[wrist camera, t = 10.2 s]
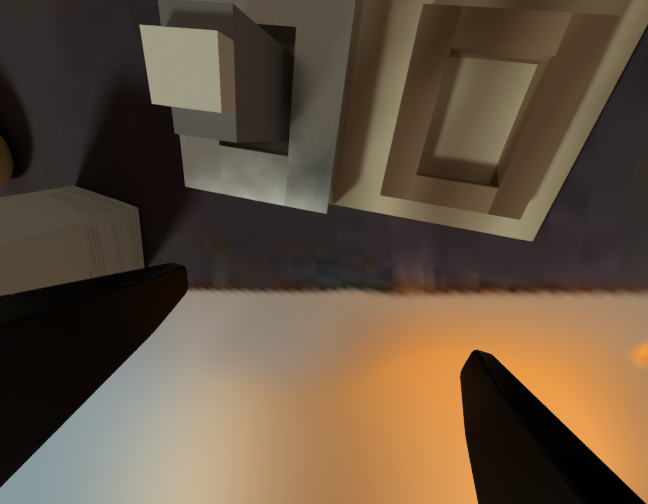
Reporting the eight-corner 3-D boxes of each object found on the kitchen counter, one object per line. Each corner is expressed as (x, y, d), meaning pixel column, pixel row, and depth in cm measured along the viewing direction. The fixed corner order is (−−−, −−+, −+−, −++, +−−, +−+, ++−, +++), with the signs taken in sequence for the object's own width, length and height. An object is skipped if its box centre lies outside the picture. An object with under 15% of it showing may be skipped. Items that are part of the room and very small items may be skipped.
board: (645, 0, 12) (666, -12, 11) (524, 235, 17) (532, 241, 16) (189, -25, 15) (177, -35, 15) (205, 177, 21) (196, 178, 20)
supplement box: (73, 183, 24) (-204, 222, 13) (141, 206, 23) (-88, 270, 12) (86, 250, 27) (-124, 328, 16) (147, 272, 27) (-29, 370, 15)
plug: (296, 58, 15) (215, -12, 8) (292, 141, 17) (222, 143, 10) (250, 54, 16) (133, -17, 8) (250, 135, 17) (156, 133, 10)
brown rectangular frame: (593, 29, 12) (619, 15, 11) (509, 213, 16) (520, 219, 14) (419, 17, 13) (423, 3, 12) (380, 190, 17) (380, 195, 16)
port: (368, -26, 13) (362, -67, 10) (334, 204, 18) (325, 215, 16) (193, -34, 14) (150, -71, 12) (208, 180, 20) (181, 187, 17)
